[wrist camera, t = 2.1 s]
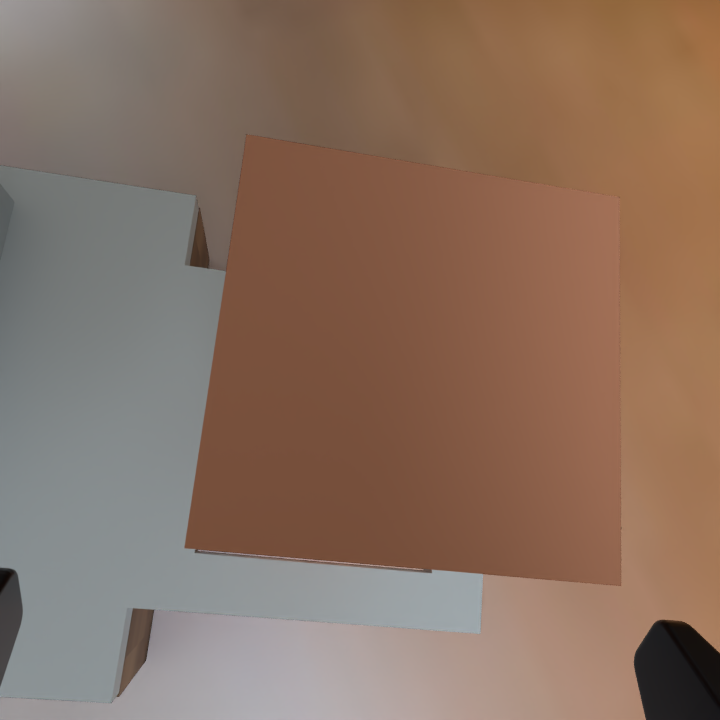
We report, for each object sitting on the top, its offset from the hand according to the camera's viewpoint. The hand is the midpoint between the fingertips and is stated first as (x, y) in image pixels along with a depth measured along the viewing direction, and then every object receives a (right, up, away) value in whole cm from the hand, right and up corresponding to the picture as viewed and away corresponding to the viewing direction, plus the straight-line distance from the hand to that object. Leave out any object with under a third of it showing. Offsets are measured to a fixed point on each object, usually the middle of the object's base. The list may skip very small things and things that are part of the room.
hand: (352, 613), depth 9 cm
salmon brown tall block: (-1, +1, +11) cm, 11 cm away
